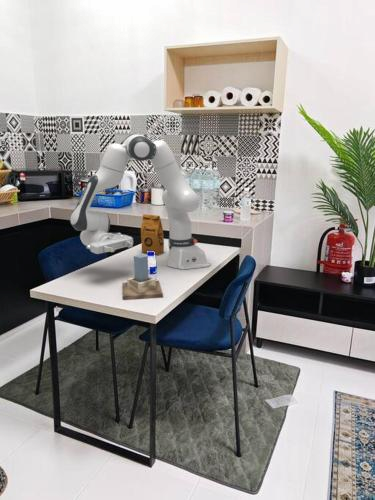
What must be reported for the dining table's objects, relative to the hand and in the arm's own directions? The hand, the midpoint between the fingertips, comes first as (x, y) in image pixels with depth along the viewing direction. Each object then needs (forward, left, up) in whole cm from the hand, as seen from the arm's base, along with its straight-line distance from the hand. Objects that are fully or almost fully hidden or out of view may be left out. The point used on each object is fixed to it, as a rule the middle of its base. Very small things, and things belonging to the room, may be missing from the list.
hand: (122, 247), depth 171 cm
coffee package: (-17, -47, -17) cm, 53 cm away
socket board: (-7, +12, -16) cm, 21 cm away
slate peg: (-7, +12, -15) cm, 20 cm away
